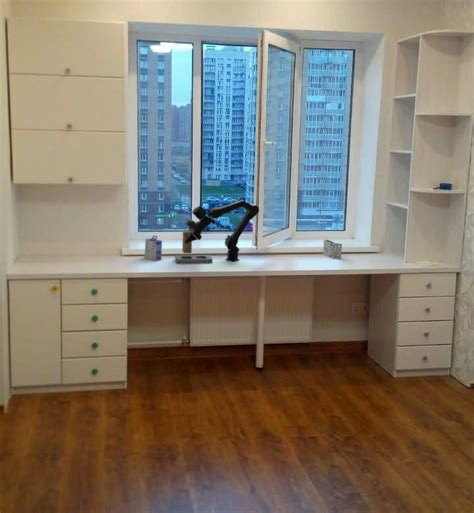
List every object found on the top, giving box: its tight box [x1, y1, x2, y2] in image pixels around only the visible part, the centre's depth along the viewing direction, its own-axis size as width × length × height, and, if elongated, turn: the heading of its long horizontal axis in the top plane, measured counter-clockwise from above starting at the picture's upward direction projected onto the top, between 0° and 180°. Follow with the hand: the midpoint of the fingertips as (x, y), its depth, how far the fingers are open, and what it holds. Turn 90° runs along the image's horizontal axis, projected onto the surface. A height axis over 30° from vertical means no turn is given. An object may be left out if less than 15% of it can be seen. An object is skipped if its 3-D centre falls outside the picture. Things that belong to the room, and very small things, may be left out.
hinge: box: [322, 239, 343, 259], centre depth 430 cm, size 14×5×10 cm, turn 41°
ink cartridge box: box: [144, 235, 163, 262], centre depth 401 cm, size 10×6×14 cm, turn 53°
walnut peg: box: [181, 230, 193, 254], centre depth 399 cm, size 5×5×13 cm
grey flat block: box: [174, 254, 213, 264], centre depth 402 cm, size 22×9×2 cm, turn 104°
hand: (184, 241), depth 398 cm, fingers closed on walnut peg, 5 cm apart
